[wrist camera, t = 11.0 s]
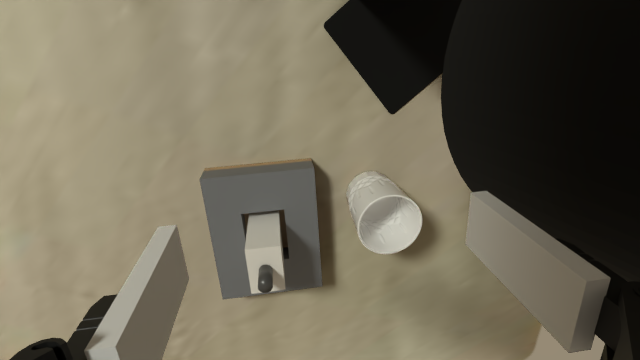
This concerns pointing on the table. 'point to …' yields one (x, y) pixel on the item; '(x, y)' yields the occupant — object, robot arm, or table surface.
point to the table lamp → (523, 103)
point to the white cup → (382, 213)
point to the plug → (265, 252)
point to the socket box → (259, 196)
